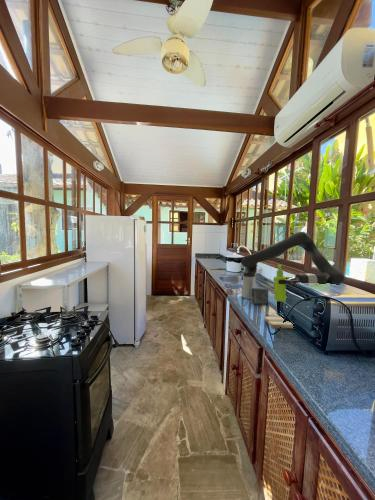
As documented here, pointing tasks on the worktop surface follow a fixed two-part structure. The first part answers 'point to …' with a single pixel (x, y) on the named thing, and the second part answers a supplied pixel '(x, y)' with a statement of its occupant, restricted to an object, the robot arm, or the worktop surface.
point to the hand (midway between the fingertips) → (276, 280)
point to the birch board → (277, 322)
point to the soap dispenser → (280, 285)
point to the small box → (260, 296)
